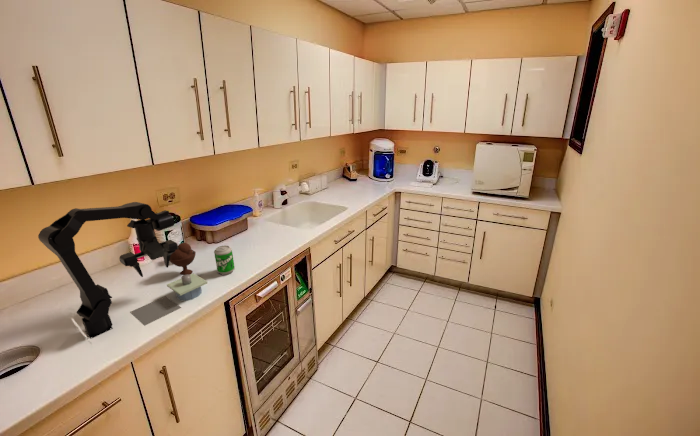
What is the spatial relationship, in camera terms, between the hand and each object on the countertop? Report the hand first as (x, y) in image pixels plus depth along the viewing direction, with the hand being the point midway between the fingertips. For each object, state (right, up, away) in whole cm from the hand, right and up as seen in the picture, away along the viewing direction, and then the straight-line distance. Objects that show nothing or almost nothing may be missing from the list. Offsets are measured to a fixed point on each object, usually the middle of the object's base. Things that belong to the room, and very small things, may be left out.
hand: (154, 271), depth 126 cm
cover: (+11, -6, +4) cm, 13 cm away
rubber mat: (+3, -14, -4) cm, 15 cm away
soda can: (+19, -4, +23) cm, 30 cm away
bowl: (+11, -10, +5) cm, 16 cm away
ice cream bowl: (+1, -5, +22) cm, 23 cm away
